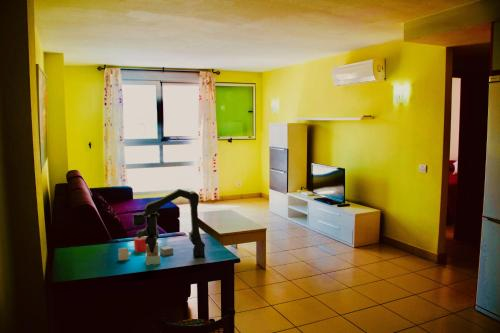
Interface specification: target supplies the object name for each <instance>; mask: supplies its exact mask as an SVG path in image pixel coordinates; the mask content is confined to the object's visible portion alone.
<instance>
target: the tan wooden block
mask: <svg viewBox="0 0 500 333" xmlns="http://www.w3.org/2000/svg"><path fill="white" fill-rule="evenodd" d="M159 250H160V255H162V256H163V257H165V255H166V256H170V254H171V255H173V254H174V247H172V246H171V245H166V246H161V247H160V248H159Z"/></svg>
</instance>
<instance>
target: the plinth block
mask: <svg viewBox="0 0 500 333" xmlns="http://www.w3.org/2000/svg"><path fill="white" fill-rule="evenodd" d="M158 251H159V250H158ZM150 264H153V265H160V264H161V253H160V251H159V252H158V256H147V252H145V265H146V266H151V265H150Z"/></svg>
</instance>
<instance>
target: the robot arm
mask: <svg viewBox="0 0 500 333" xmlns="http://www.w3.org/2000/svg"><path fill="white" fill-rule="evenodd" d="M178 198H183V199H186V200H188V204H189V208H190V221H191V223H190V224H191V225H190V226H191V230H190V232H189V231H188V235H189V238H188V239H189V241H190V242H191V244H192V245H193V248H192V256H193V258H194V259H198V258H199V259H201V258H206V255H205V254H206V252H205V251H206V250H205V247H206V244H205V242H204V240H202V237H201V233H200V230H199V214H198V207H199V202H200V196H199V194H198V193H197V192H196V191H191V190H190V191H189V190H188V191H187V190H184V189H181V188H178V189H176V190H175V191H172V192H171V193H169V194H167V195H164V196H163V197H161V198H159V199H157V200H156V199H155V200H153V201H150V202H147V203H146V204H145V209H144V210H142V211H143V212H142V213H133V214H132V224H133V227H138V226H144V224H146V226H145V228H143V229H140V230H137V231H136V237H138V238H141V237H143V236H144V237H146V238H145V243H146V244H148V245H149V248H150V251H151V253H153V251H154V248H155V245H156V243H157V241H158V239H159V236H160V235H159V234H160V231H159V230H158V224H157V222H158V221H157V217H160V216H161V215H160V214H159V213H158V210H160V209H161V208H162V207H163V206H166V205H167V204H169V203H171V202H173V201H174V200H177V199H178Z"/></svg>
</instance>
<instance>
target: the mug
mask: <svg viewBox="0 0 500 333" xmlns="http://www.w3.org/2000/svg"><path fill="white" fill-rule="evenodd" d="M146 237H147V236H143V237H141V238H138V236H136V237H134V238H133V244H134V245H133V247H134V250H133V251H134V252H136V253H142V252H147V247H146V246H147V244H146V243H145V238H146Z"/></svg>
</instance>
